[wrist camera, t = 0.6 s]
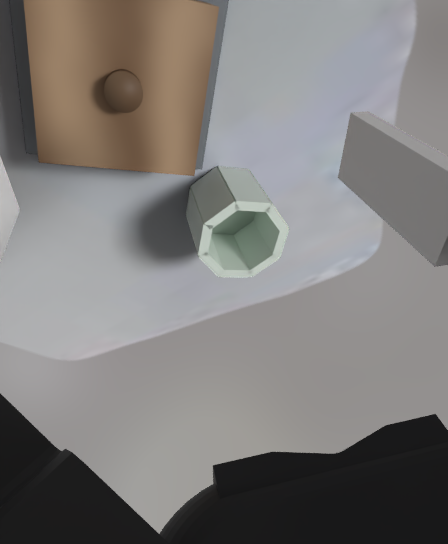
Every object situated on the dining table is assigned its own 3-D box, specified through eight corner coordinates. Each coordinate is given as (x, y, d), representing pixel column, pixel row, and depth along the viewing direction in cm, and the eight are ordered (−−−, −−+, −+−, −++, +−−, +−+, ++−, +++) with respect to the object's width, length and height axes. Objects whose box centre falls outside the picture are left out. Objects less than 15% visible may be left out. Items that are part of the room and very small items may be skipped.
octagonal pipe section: (183, 235, 39) (194, 277, 33) (193, 163, 34) (207, 198, 29) (252, 238, 41) (273, 277, 35) (270, 171, 36) (297, 205, 31)
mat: (27, 150, 31) (26, 153, 30) (4, -63, 23) (2, -64, 23) (200, 166, 35) (201, 169, 34) (228, -11, 27) (230, -11, 27)
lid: (46, 142, 30) (36, 168, 26) (31, -36, 24) (16, -37, 20) (186, 156, 33) (196, 181, 29) (206, 2, 27) (222, 8, 23)
